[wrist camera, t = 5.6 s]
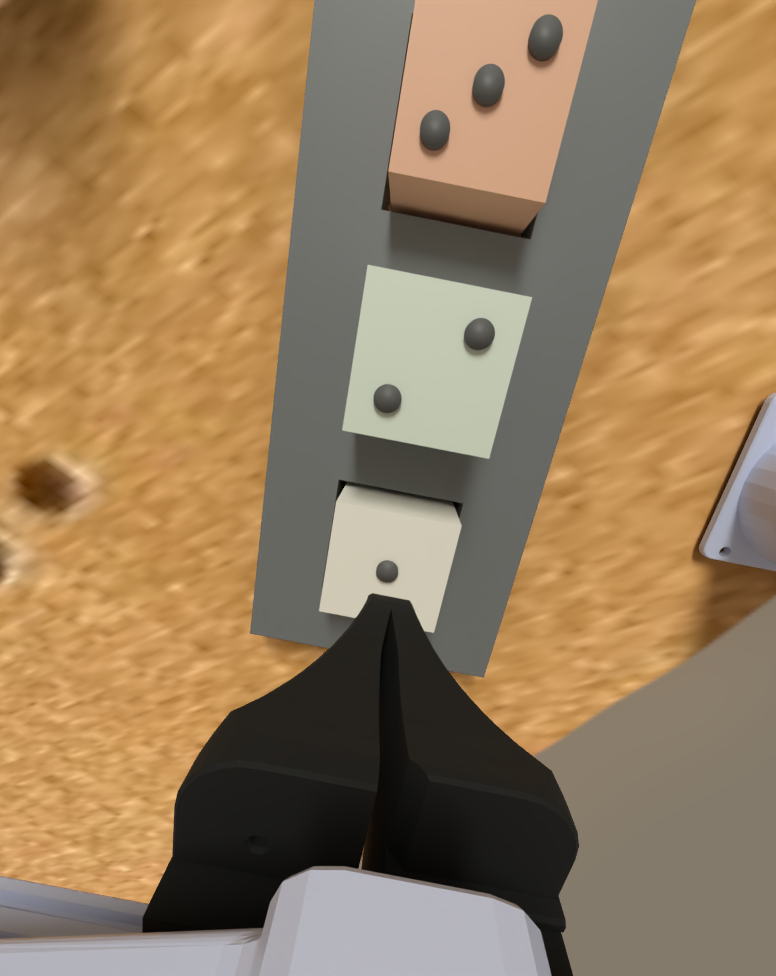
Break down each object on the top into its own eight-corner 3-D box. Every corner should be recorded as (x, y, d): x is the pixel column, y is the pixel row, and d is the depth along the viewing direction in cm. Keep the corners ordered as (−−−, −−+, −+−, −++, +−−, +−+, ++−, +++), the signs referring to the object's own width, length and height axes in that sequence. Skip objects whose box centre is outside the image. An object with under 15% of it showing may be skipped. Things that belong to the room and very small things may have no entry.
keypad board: (672, -1, 14) (716, -65, 12) (476, 650, 21) (483, 677, 19) (340, -70, 13) (329, -145, 12) (264, 610, 21) (250, 633, 19)
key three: (547, 98, 14) (603, -12, 10) (511, 246, 16) (547, 199, 12) (417, 71, 14) (422, -50, 10) (392, 222, 16) (388, 167, 12)
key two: (499, 318, 15) (534, 296, 11) (469, 440, 17) (490, 460, 13) (376, 294, 15) (367, 262, 11) (356, 418, 17) (341, 430, 12)
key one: (450, 496, 19) (462, 527, 15) (428, 584, 20) (434, 635, 16) (350, 476, 19) (335, 503, 15) (335, 566, 20) (317, 614, 16)
